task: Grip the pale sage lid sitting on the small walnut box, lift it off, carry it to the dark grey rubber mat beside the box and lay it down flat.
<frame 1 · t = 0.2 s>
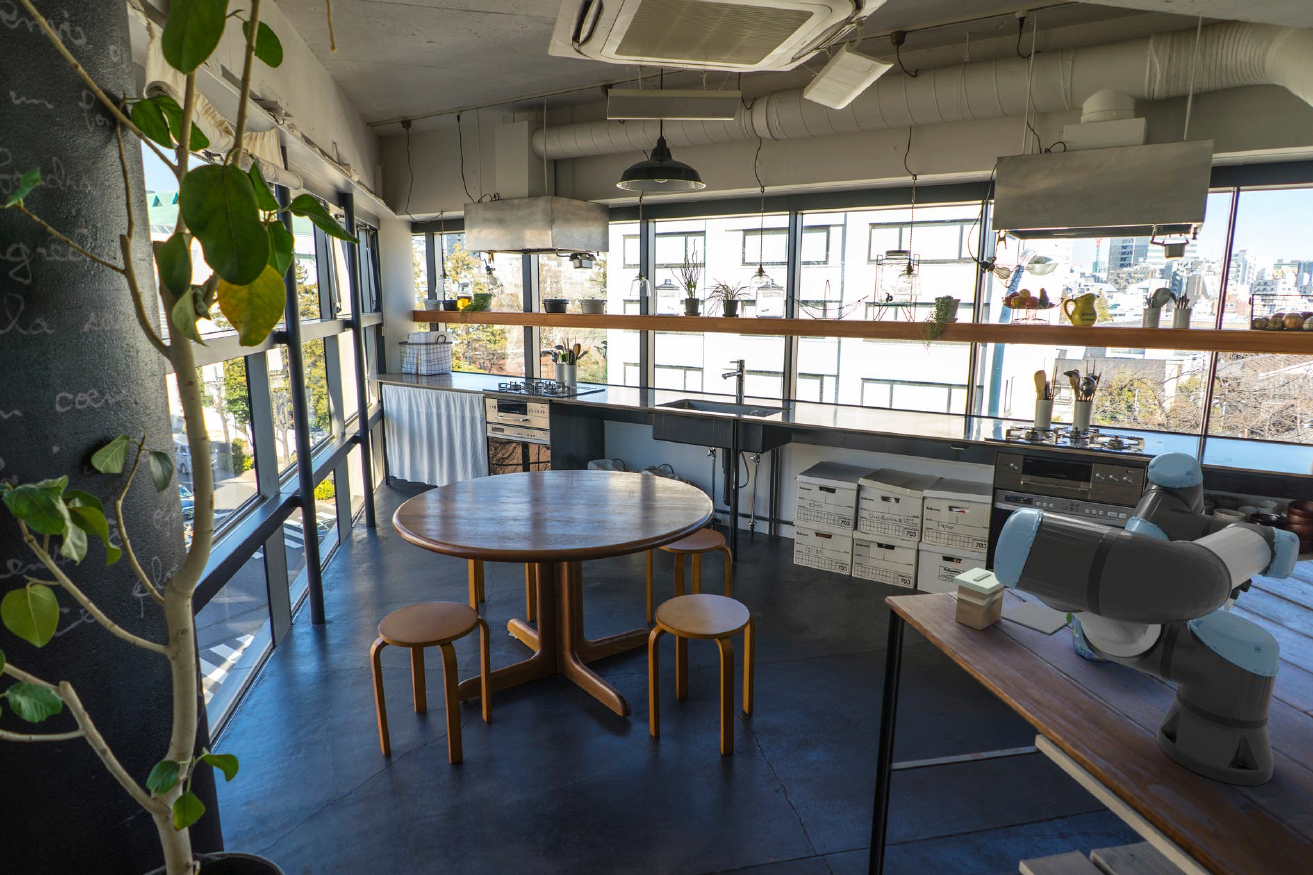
hand: (1187, 593, 142), 16 cm above the table, tool tilted 35°, fingers open, 13 cm apart
decorative container: (1115, 628, 162), on the table
walnut box: (977, 619, 166), on the table
lid: (981, 583, 164), point 9 cm above the table, touching walnut box
snack cup: (1093, 654, 150), on the table
mat: (1037, 617, 167), on the table
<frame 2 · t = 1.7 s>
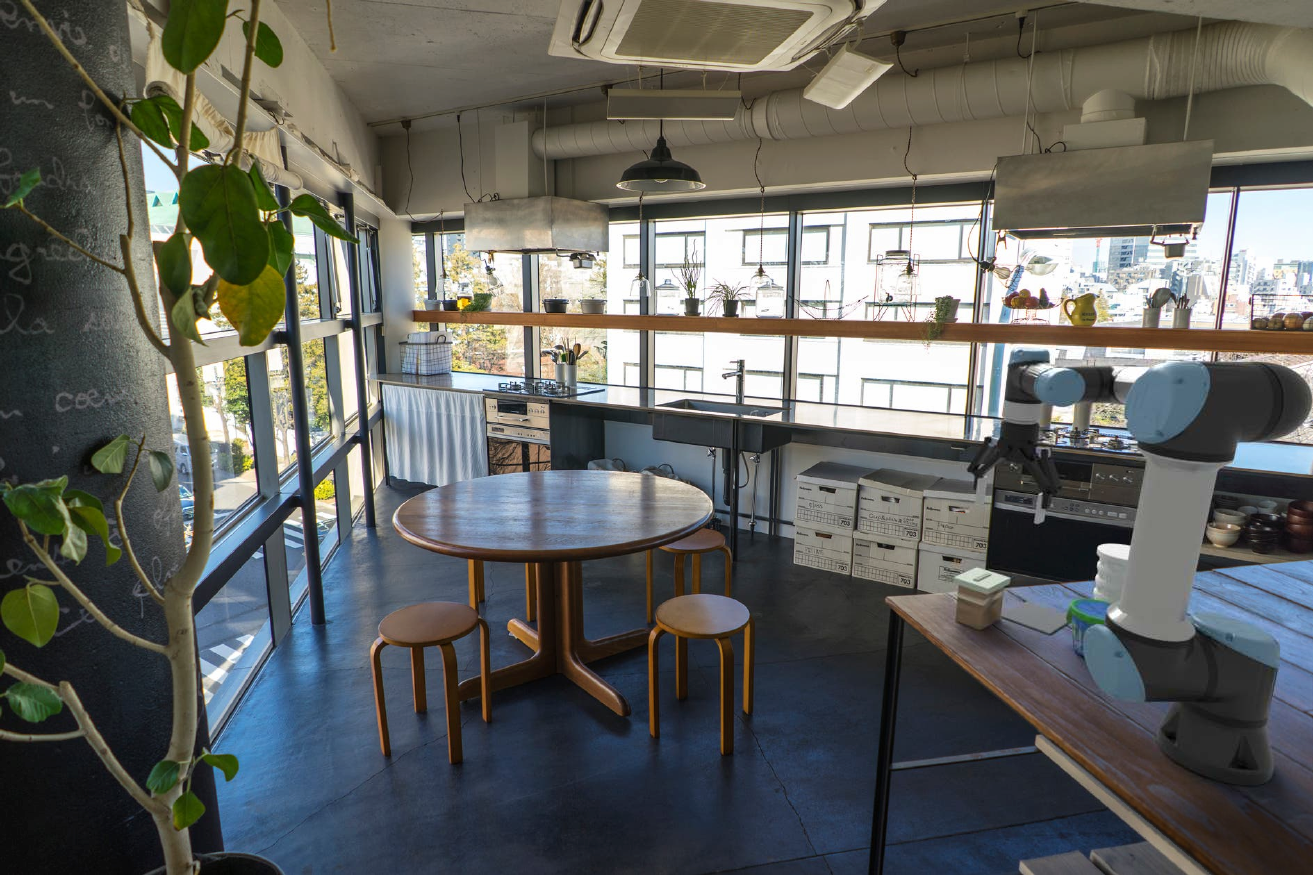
hand: (1008, 513, 160), 26 cm above the table, tool pointing down, fingers open, 13 cm apart
nothing on the table moved.
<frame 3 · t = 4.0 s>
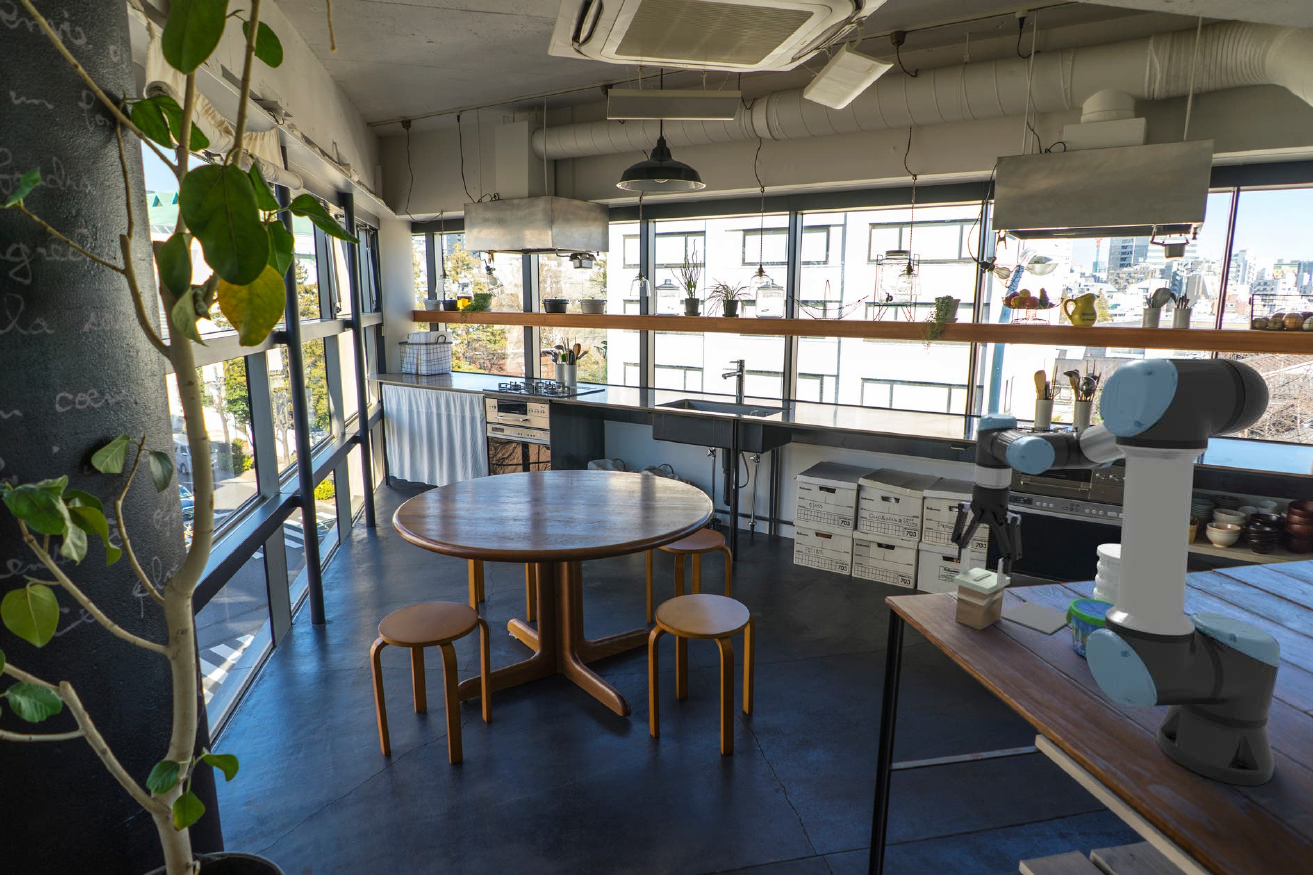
hand: (981, 580, 164), 10 cm above the table, tool pointing down, fingers closed on lid, 8 cm apart
lid: (981, 583, 164), point 9 cm above the table, touching gripper, walnut box
everything else where it was.
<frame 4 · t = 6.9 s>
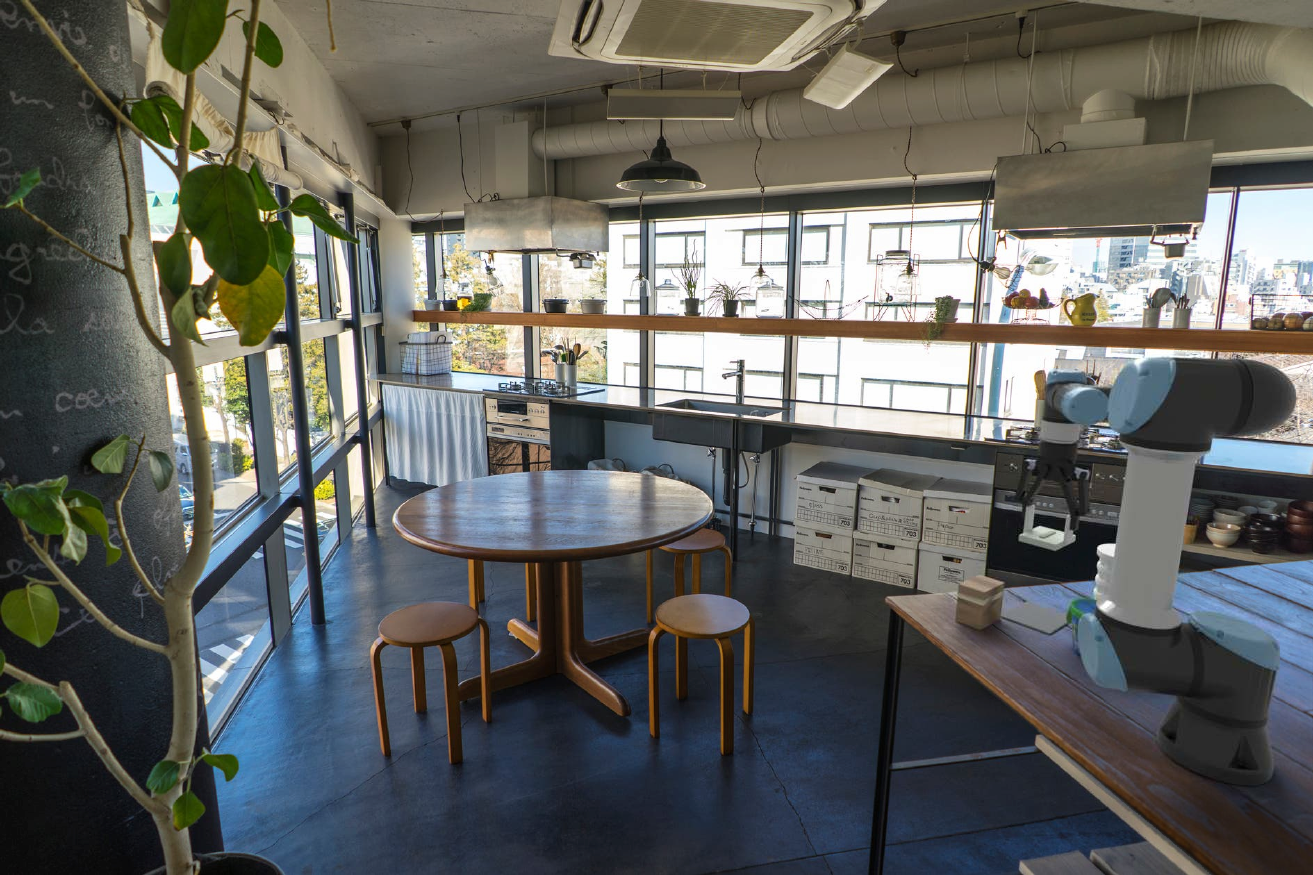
hand: (1047, 537, 163), 20 cm above the table, tool pointing down, fingers closed on lid, 8 cm apart
lid: (1046, 540, 163), point 19 cm above the table, touching gripper
everything else where it was.
when the fingers open (3 cm above the table, at t = 9.7 s): lid drops 2 cm, resting on mat.
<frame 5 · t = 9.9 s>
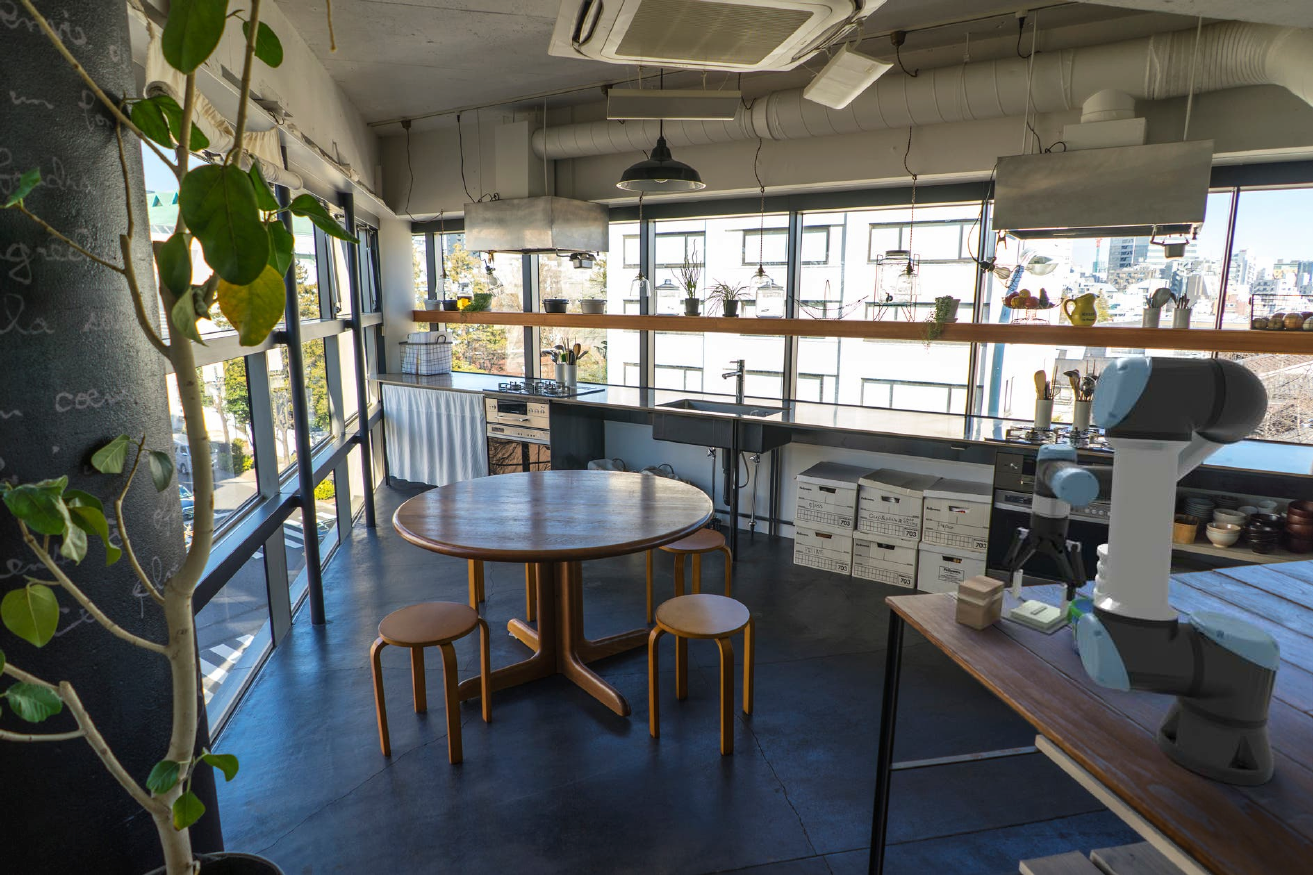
hand: (1039, 604, 166), 3 cm above the table, tool pointing down, fingers open, 10 cm apart
lid: (1038, 616, 167), resting on mat
everything else where it was.
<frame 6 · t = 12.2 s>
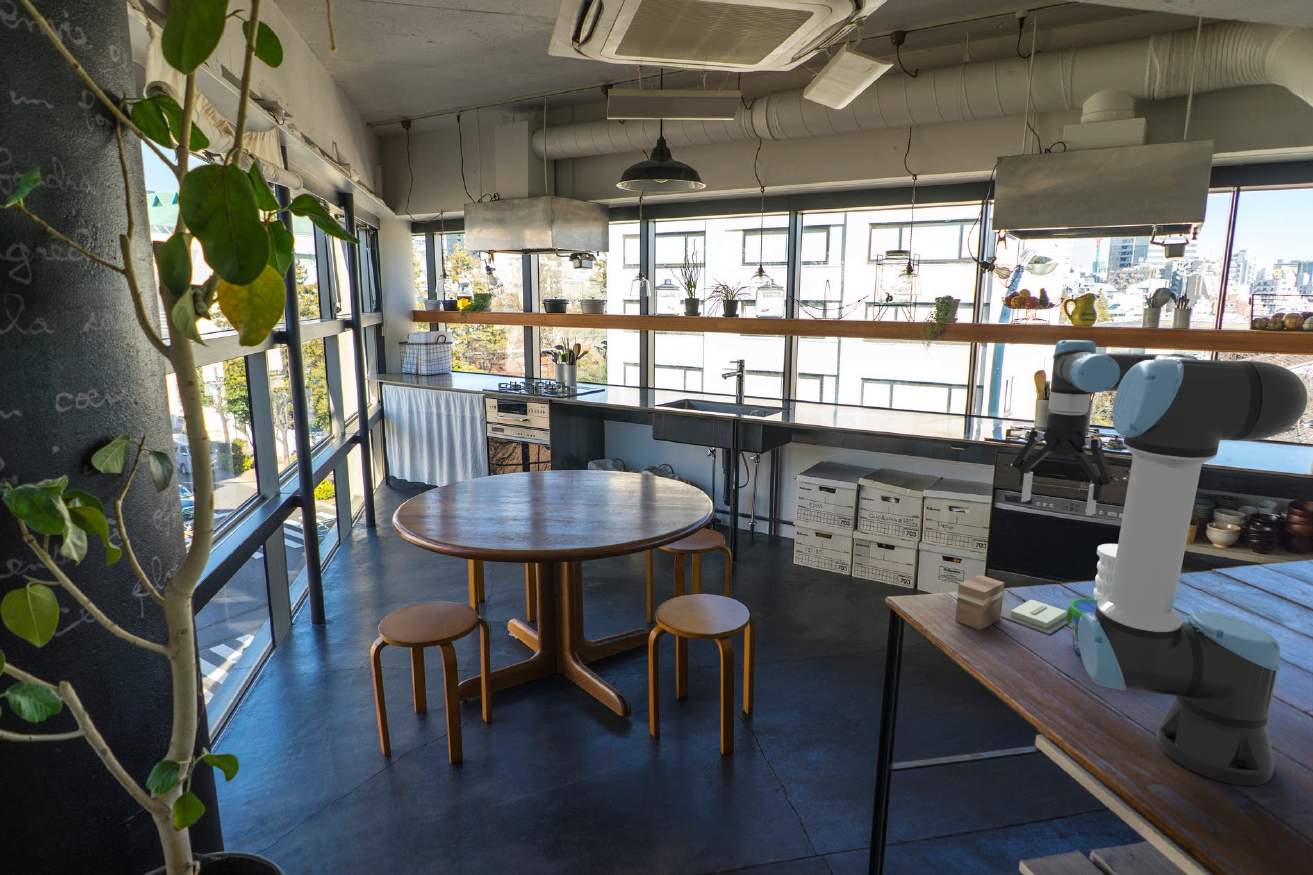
hand: (1056, 507, 159), 28 cm above the table, tool pointing down, fingers open, 13 cm apart
nothing on the table moved.
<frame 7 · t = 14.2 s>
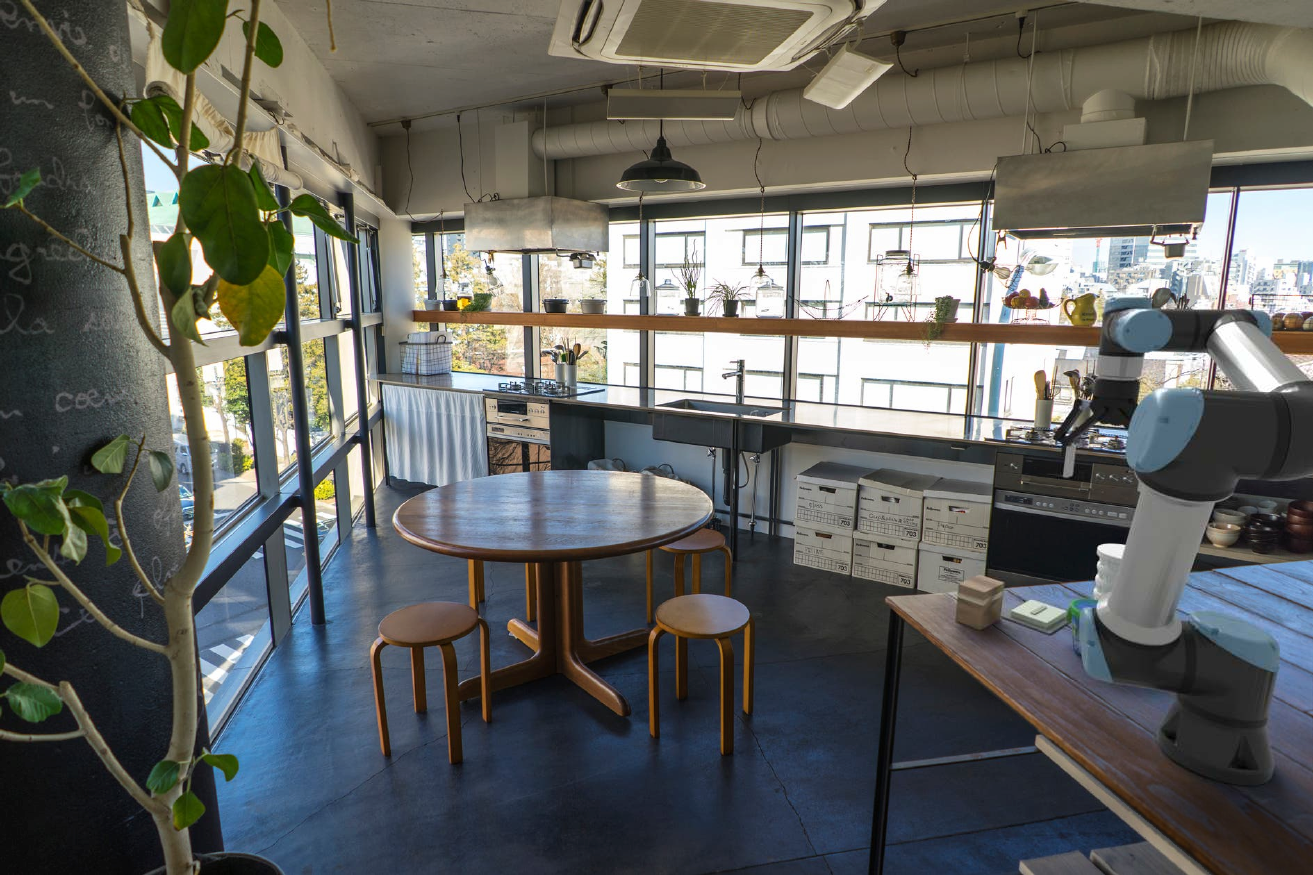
hand: (1103, 483, 144), 37 cm above the table, tool pointing down, fingers open, 13 cm apart
nothing on the table moved.
at the end: lid 0.0 cm from the mat (horizontally); lid resting on mat; lid tilted 0° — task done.
